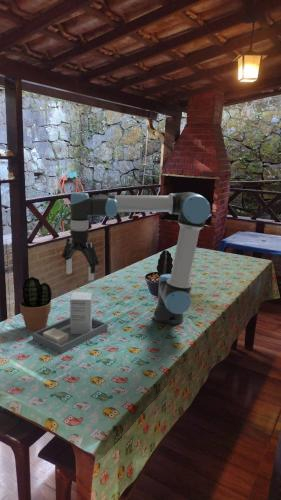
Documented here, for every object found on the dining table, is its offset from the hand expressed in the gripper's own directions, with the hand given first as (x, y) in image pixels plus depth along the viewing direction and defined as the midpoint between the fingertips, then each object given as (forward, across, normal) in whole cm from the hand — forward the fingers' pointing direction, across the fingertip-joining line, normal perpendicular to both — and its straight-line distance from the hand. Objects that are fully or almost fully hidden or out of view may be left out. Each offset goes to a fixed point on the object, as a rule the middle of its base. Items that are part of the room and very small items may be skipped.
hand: (79, 276), depth 161 cm
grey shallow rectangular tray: (+27, 0, +6) cm, 27 cm away
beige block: (+26, 0, +14) cm, 30 cm away
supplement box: (+26, 0, -1) cm, 26 cm away
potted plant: (+27, +18, +10) cm, 34 cm away
